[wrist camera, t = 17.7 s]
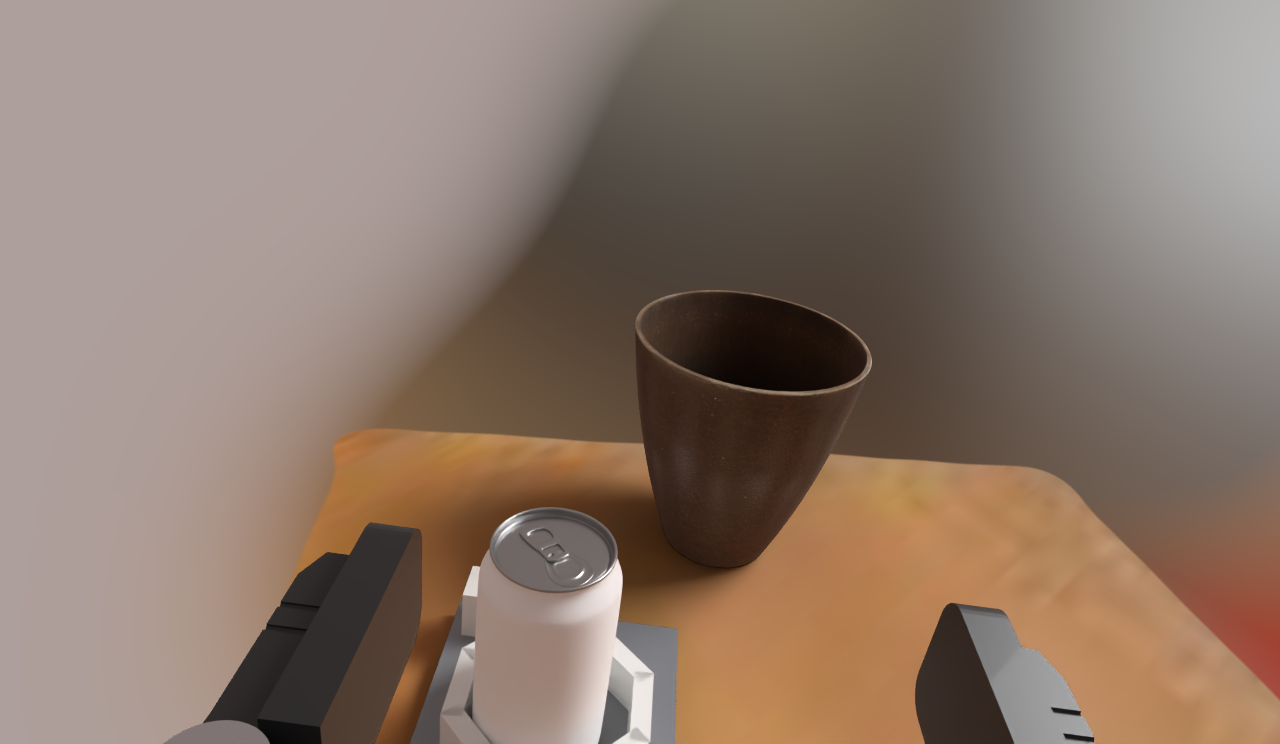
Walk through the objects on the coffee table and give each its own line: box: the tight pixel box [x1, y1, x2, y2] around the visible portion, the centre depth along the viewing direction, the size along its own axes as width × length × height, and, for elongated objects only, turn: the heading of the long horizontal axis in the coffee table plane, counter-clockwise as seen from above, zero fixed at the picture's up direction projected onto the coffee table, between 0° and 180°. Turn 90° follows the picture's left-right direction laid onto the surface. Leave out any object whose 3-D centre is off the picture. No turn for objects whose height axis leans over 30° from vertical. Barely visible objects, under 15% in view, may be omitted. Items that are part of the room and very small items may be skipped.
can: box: [472, 507, 623, 744], centre depth 39 cm, size 6×6×12 cm
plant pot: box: [635, 290, 872, 567], centre depth 56 cm, size 15×15×16 cm
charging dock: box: [410, 566, 677, 744], centre depth 41 cm, size 13×16×4 cm
